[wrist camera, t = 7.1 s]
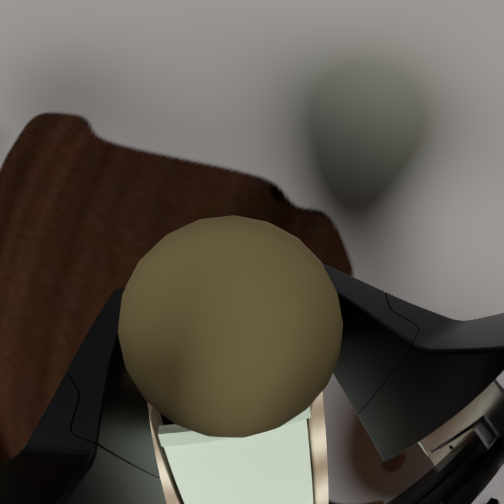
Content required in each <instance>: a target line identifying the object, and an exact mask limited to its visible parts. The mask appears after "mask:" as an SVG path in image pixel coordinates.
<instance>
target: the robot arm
mask: <svg viewBox="0 0 504 504" xmlns="http://www.w3.org/2000/svg"><path fill="white" fill-rule="evenodd" d="M323 266H324V268H325V270H326V272H327V274H328V276H329V278H330V280H331V282H332V284H333V286H334V287H335V289H336V292H337V294H338V299H339V304H340V310H341V315H342V321H343V331H342V340H341V349H340V356H339V359H338V361H337V363H336V366H335V368H334V371H333V373H334V375H335V377H336V379H337V380H338V382H339V384H340V386H341V387H342V389H343V391H344V392H345V394H346V396H347V398H348V399H349V401H350V403H351V404H352V406H353V408H354V410H355V411H356V413H357V415H358V417H359V418H360V420H361V422H362V424H363V425H364V427H365V429H366V430H367V432H368V434H369V436H370V437H371V439H372V441H373V443H374V445H375V446H376V448H377V450H378V452H379V453H380V455H381V457H382V458H383V460H384V461H385V462H386V461H387V460H389V459H391V458H393V457H395V456H396V455H398V454H400V453H402V452H403V451H405V450H407V449H408V448H410V447H411V446H413V445H415V444H416V443H419V444H420V446H421V447H422V448H423V450H424V452H425V453H426V455H427V456H428V458H430V459H431V461H432V462H433V464H434V465H435V466H434V467H433V468H432V469H431V470H430V471H429V472H427V473H426V474H425V475H424V476H423V477H422V478H420V479H419V480H418V481H417V482H415V483H414V484H413V485H411V486H410V487H409V488H408V489H406V490H405V491H403V492H402V493H401V494H399V495H398V496H397V497H395V498H394V499H392V500H391V501H389V502H388V503H386V504H500V503H499V501H498V500H497V499H493V498H491V497H492V496H493V495H494V493H495V492H496V491H497V489H498V488H499V487H500V486H501V484H502V483H503V481H504V313H502V314H498V315H493V316H488V317H484V318H479V319H474V320H468V321H458V320H453V319H450V318H447V317H444V316H442V315H440V314H437V313H434V312H432V311H429V310H426V309H424V308H421V307H418V306H416V305H413V304H411V303H408V302H406V301H404V300H402V299H399V298H397V297H395V296H393V295H390V294H388V293H386V292H385V293H384V292H383V291H382V290H380V289H377V288H375V287H373V286H371V285H369V284H367V283H364V282H362V281H360V280H358V279H356V278H353V277H351V276H349V275H347V274H344V273H342V272H340V271H338V270H336V269H333V268H331V267H329V266H327V265H324V264H323ZM124 290H125V288H121V289H116V290H114V292H113V293H112V295H111V296H110V298H109V299H108V301H107V302H106V304H105V306H104V307H103V309H102V310H101V312H100V314H99V315H98V317H97V318H96V320H95V322H94V323H93V325H92V327H91V328H90V330H89V332H88V334H87V335H86V337H85V339H84V340H83V342H82V344H81V346H80V348H79V349H78V351H77V353H76V355H75V357H74V358H73V360H72V362H71V364H70V366H69V368H68V370H67V372H68V373H65V375H64V377H63V379H62V381H61V383H60V385H59V387H58V389H57V391H56V393H55V394H54V396H53V398H52V400H51V402H50V403H49V405H48V407H47V409H46V410H45V412H44V414H43V416H42V417H41V419H40V421H39V422H38V424H37V426H36V428H35V430H34V431H33V433H32V435H31V437H30V439H29V440H28V442H27V444H26V445H25V447H24V448H23V449H22V450H21V452H20V453H19V454H17V455H16V456H14V457H13V458H11V459H9V460H7V461H5V462H3V463H1V464H0V504H167V503H166V499H165V495H164V491H163V487H162V483H161V479H160V474H159V470H158V465H157V460H156V455H155V450H154V444H153V438H152V432H151V426H150V419H149V411H148V403H147V401H146V400H145V399H144V397H143V396H142V394H141V393H140V391H139V389H138V388H137V386H136V385H135V383H134V381H133V380H132V378H131V376H130V375H129V373H128V371H127V370H126V367H125V363H124V359H123V354H122V350H121V345H120V340H119V335H118V325H119V317H120V309H121V301H122V295H123V292H124Z"/></svg>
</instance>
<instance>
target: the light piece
mask: <svg viewBox="0 0 504 504" xmlns="http://www.w3.org/2000/svg"><path fill="white" fill-rule="evenodd" d="M308 418H311V414H310V406H309V407H308V409H306V410H305V411H304V412H302V413H301V414H299V415H298V416H296V417H295V418H293V419H292V420H290V421H288V422H287V423H285V424H284V425H282V426H281V427H279V428H277V429H273V430H270V431H267V432H263V433H260V434H256V435H252V436H248V437H244V438H231V437H210V436H206V435H203V434H200V433H197V432H194V431H192V430H189V429H186V428H184V427H181V426H179V425H176V424H172V425H159V429H158V437H159V440H160V444H161V447H164V449H165V452H166V455H167V458H168V461H169V464H170V467H171V470H172V473H173V476H174V478H175V481H176V484H177V486H178V489H179V491H180V494H181V496H182V499H183V501H184V503H185V504H313V489H312V475H311V462H310V451H309V440H308V429H307V419H308Z"/></svg>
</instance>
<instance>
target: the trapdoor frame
mask: <svg viewBox="0 0 504 504" xmlns="http://www.w3.org/2000/svg"><path fill="white" fill-rule="evenodd" d="M147 403H148V402H147ZM148 411H149V419H150V426H151V432H152V438H153V444H154V450H155V455H156V460H157V465H158V470H159V474H160V479H161V483H162V487H163V491H164V495H165V499H166V503H167V504H185V503H184V501H183V499H182V496H181V494H180V491H179V489H178V486H177V484H176V481H175V478H174V476H173V473H172V470H171V467H170V464H169V461H168V458H167V455H166V452H165V449H164V447H161V444H160V440H159V437H158V429H159V425H163V422H162V418H161V414H160V412H159V411H158V410H156V409H155V408H154V407H153V406H151V405H150V404H149V403H148ZM310 414H311V418H308V419H307V429H308V440H309V451H310V462H311V475H312V489H313V504H329V496H328V495H329V494H328V466H327V465H328V464H327V444H326V428H325V416H324V403H323V392H321V393H320V394H319V396H318V397H317V398H316V399H315V400H314V402H313V403H312V404H311V405H310Z"/></svg>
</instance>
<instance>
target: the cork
mask: <svg viewBox="0 0 504 504" xmlns="http://www.w3.org/2000/svg"><path fill="white" fill-rule="evenodd" d="M342 331H343V321H342V315H341V310H340V304H339V299H338V294H337V292H336V289H335V287H334V286H333V284H332V282H331V280H330V278H329V276H328V274H327V272H326V270H325V268H324V266H323V264H322V262H321V261H320V260H319V259H318V258H317V257H316V256H315V255H314V254H313V253H312V252H311V251H310V250H309V249H308V248H307V247H306V246H305V245H304V244H303V243H302V242H301V241H300V240H299V239H298V238H297V237H295V236H293V235H291V234H290V233H288V232H286V231H284V230H282V229H280V228H279V227H277V226H275V225H273V224H271V223H269V222H266V221H261V220H256V219H251V218H246V217H240V216H235V215H234V216H225V217H216V218H208V219H200V220H197V221H195V222H193V223H191V224H189V225H187V226H184V227H182V228H180V229H178V230H176V231H174V232H172V233H170V234H167V235H166V236H165V237H164V238H163V239H162V240H161V241H160V242H158V243H157V244H156V245H155V246H154V247H153V248H152V249H151V250H150V251H149V252H148V253H147V254H146V255H145V256H144V257H143V258H142V259H141V260H140V261H139V262H138V264H137V266H136V268H135V270H134V272H133V274H132V276H131V278H130V280H129V282H128V284H127V286H126V288H125V290H124V292H123V295H122V301H121V309H120V317H119V325H118V335H119V340H120V345H121V350H122V354H123V359H124V363H125V367H126V370H127V371H128V373H129V375H130V376H131V378H132V380H133V381H134V383H135V385H136V386H137V388H138V389H139V391H140V393H141V394H142V396H143V397H144V399H145V400H146V401H147V402H148V403H149V404H150V405H151V406H153V407H154V408H155V409H156V410H158V411H159V412H160V413H161V414H162V415H164V416H165V417H166V418H167V419H169V420H170V421H171V422H173V423H174V424H176V425H179V426H181V427H184V428H186V429H189V430H192V431H194V432H197V433H200V434H203V435H206V436H210V437H231V438H244V437H248V436H252V435H256V434H260V433H263V432H267V431H270V430H273V429H277V428H279V427H281V426H282V425H284V424H285V423H287V422H288V421H290V420H292V419H293V418H295V417H296V416H298V415H299V414H301V413H302V412H304V411H305V410H306V409H308V407H309V406H310V405H311V404H312V403H313V402H314V400H315V399H316V398H317V397H318V396H319V394H320V393H321V392H322V391H323V389H324V388H325V387H326V386H327V384H328V382H329V380H330V378H331V375H332V373H333V371H334V368H335V366H336V363H337V361H338V359H339V356H340V349H341V340H342Z"/></svg>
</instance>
